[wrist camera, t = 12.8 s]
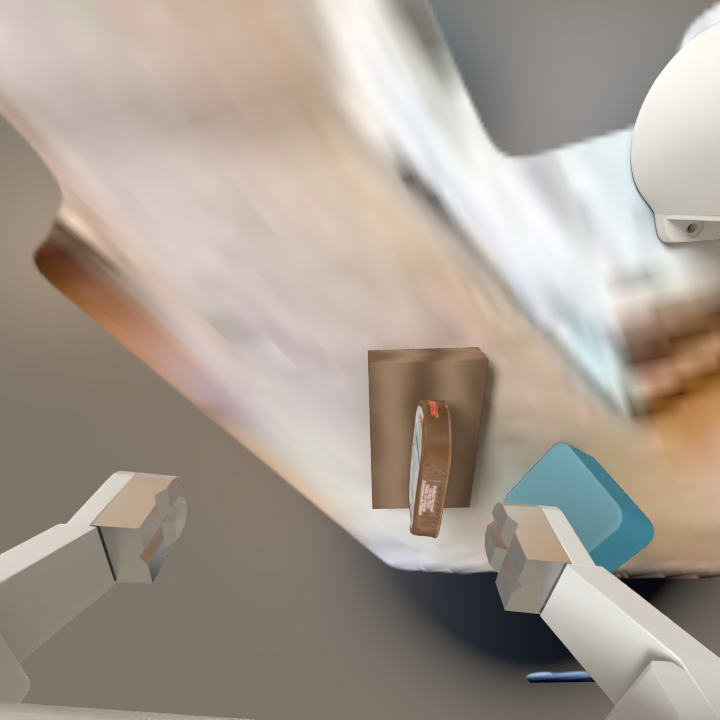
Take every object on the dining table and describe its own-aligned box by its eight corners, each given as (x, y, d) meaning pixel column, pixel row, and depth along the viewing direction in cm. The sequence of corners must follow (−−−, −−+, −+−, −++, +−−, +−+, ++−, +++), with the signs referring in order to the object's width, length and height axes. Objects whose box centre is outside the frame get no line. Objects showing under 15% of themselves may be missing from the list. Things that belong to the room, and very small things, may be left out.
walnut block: (476, 345, 39) (488, 360, 35) (461, 483, 47) (469, 507, 43) (367, 348, 39) (368, 363, 35) (371, 485, 47) (372, 508, 44)
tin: (427, 493, 42) (441, 558, 35) (401, 492, 42) (409, 557, 35) (443, 384, 36) (463, 433, 28) (412, 383, 36) (425, 432, 28)
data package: (526, 512, 48) (574, 603, 37) (500, 500, 47) (541, 590, 36) (588, 451, 44) (663, 534, 33) (560, 437, 43) (627, 517, 32)
